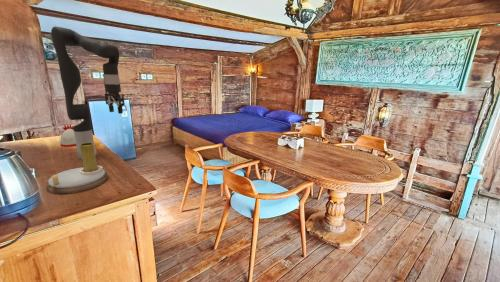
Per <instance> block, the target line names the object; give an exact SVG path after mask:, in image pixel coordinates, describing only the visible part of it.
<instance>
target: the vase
mask: <svg viewBox="0 0 500 282" xmlns="http://www.w3.org/2000/svg"><path fill="white" fill-rule="evenodd" d="M80 149H81V154H82V159H81V160H82V167H83V169H84V172H92V171H96V170H98V167H97V166H98V164H97V162H98V161H97V158H96V156H95V153H94V147H93V143H83V144H80Z"/></svg>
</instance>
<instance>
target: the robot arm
mask: <svg viewBox="0 0 500 282" xmlns="http://www.w3.org/2000/svg"><path fill="white" fill-rule="evenodd" d="M50 37H51V40H52V43H53V47H54V50H55V53H56V56H57V57H56V58H57V63H58V68H59V75H60V79H61V83H62V87H63V91H64V99H65V105H66V107H65V108H66V113H67V117H68V119H69V120H70V121H77V120H82V121H81V122H80V123H78V124H75V125H73V130H74V135H75V140H76V146H75V147H76V151H77V156H78V159H81V160H82V154H81V149H80V144H83V143H93V147H94V153H95V157H96V156H97V153H96V147H95V146H96V145H95V141H94V134H93V128H92V121H91V110H90V107H89V105H88V104H87V103H79V104H78V103H77V104H76V103H75V104H74V98H75V95H76V93H77V91H78V90H79V88H80V86H81V85H82V77H81V76H82V75H81V72H80V69H79V67H78V65H76V63H75V62H74V61H73V60H72V58H71V56H70V55H69V54H68V50H67V47H79V48H82V49H83V50H85V51H86V52H89V53H92V54H95V55H96V56H98V57H100V58H101V59H102V58H103V59H108V62H105V63H104V62H103V64H102V72H103V73H102V74H103V82H104V91H105V93H104V99H105V105H107V106H108V111H109V113H114V112H115V109H114V104H116V106H117V113H118V114H123V113H124V112H123V111H124V110H123V107H125V106H126V105H125V98H124V94H120V93H121V92H122V87H121V81H120V76H119V68H118V66H119V62H120V61H119V60H120V49H119V48H118V47H117V46H116V45H113V44H107V43H102V42H101V41H99V40H96V39H93V38H90V37H87V36H84V35H82V34H80V33H78V32H76V31H75V30H73V29H71V28H67V27H61V26H56V25H55V26H53V27H52V28H51V30H50Z"/></svg>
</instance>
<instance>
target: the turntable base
mask: <svg viewBox="0 0 500 282" xmlns="http://www.w3.org/2000/svg"><path fill="white" fill-rule="evenodd" d="M104 171H105V175H104V177H103V178H101V179H100V180H98V181H96V182H93V183H91V184H88V185H84V186H80V187H75V188H65V189H59V188H55V187H54V186H52V187H51V186H50V185H49V182H48V181H47V182H46V184H45V186H46V190H47V192H49V193H51V194H54V195H55V194H56V195H67V194H76V193H81V192H84V191H88V190H89V191H90V190H91V189H94V188H97V187H99V186H101V185H102V184H104V183H105V182H106V181H108V179H109V177H108V172H107V171H106V170H104ZM96 186H97V187H96Z"/></svg>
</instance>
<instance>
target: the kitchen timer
mask: <svg viewBox="0 0 500 282" xmlns="http://www.w3.org/2000/svg"><path fill="white" fill-rule="evenodd" d="M73 127H74V125H71V124H67V125H66V124H64V125H63V126H62V129H63V130H64V131H63V132H62V134H60V135H61V137H60V138H61V139H59V140H60V141H59V145H60V147H62V148H69V147H70V148H71V147H72V148H73V147H77V146H76V140H75V135H74V130H73Z"/></svg>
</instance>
